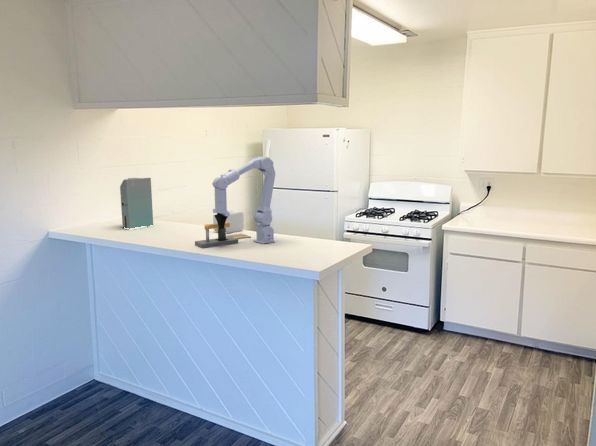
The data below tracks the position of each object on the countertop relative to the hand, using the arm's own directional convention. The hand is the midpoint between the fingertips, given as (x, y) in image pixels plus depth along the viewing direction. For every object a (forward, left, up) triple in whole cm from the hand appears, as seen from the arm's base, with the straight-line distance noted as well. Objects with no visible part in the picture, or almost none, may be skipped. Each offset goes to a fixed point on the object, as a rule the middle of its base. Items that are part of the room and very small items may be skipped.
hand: (221, 228), depth 245 cm
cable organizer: (+34, -21, -9) cm, 41 cm away
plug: (+6, -3, -9) cm, 11 cm away
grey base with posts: (+6, 0, -9) cm, 11 cm away
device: (+78, +18, -9) cm, 81 cm away
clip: (+6, 0, 0) cm, 6 cm away
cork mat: (+16, -17, -9) cm, 25 cm away
